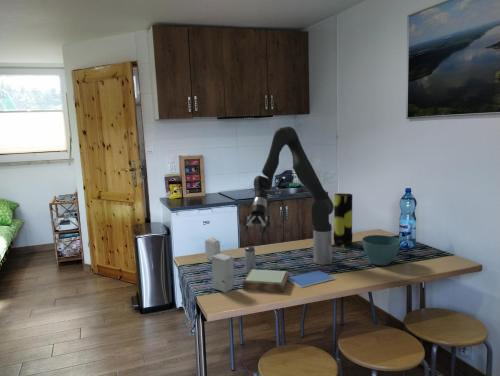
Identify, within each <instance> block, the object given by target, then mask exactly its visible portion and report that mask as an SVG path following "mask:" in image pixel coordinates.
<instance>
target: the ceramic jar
mask: <svg viewBox="0 0 500 376" xmlns="http://www.w3.org/2000/svg"><path fill="white" fill-rule="evenodd" d="M244 268H245V269H244V272H245V273H247V274H248V273H249V272H250V270H251V269H256V249H255V246H245V248H244Z"/></svg>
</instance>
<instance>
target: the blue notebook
mask: <svg viewBox="0 0 500 376" xmlns="http://www.w3.org/2000/svg"><path fill="white" fill-rule="evenodd" d="M335 279H336V278H335V277H334V276H332V275H329V274H327V273H325V272H323V271H321V270H314V271H310V272H306V273H301V274H297V275H294V276H290V277H289V278H288V282H289V283H292V285H295V286H297V287H298V288H301V289H302V288H306V287H310V286H314V285H317V284H321V283H325V282H329V281H333V280H335Z"/></svg>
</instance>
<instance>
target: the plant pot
mask: <svg viewBox="0 0 500 376" xmlns="http://www.w3.org/2000/svg"><path fill="white" fill-rule="evenodd" d="M361 242H362V246H363V247H362V248H363V251H364V253H365V255H366V257H367V259H368V261H370V263H371V264H373V265H376V266H388V265H390V264H391V263H392V261H393V260H394V259H395V257H396V256H397V254H398V252H399V250H400V246H401V245H400V244H401V240H400V239H399V238H397V237H394V236H389V235H383V234H382V235H381V234H373V235H372V234H371V235H367V236H363V237H362V240H361Z"/></svg>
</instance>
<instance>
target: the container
mask: <svg viewBox="0 0 500 376" xmlns="http://www.w3.org/2000/svg"><path fill="white" fill-rule="evenodd" d="M333 198H334V200H333V203H334V204H333V206H334V209H333V214H334V215H333V218H334V219H333V222H334V223H333V245H334V246H336V247H338V248H339V247H340V248H349V247H351V246H352V245H353V194H352V193H347V192H346V193H344V192H342V193H341V192H339V193H334V195H333Z"/></svg>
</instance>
